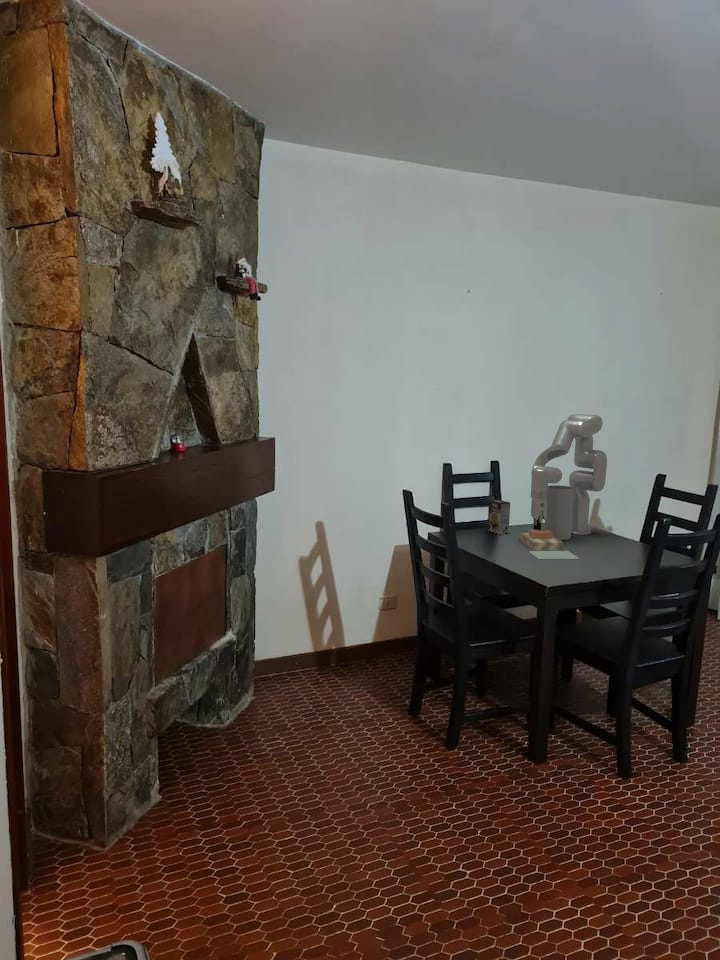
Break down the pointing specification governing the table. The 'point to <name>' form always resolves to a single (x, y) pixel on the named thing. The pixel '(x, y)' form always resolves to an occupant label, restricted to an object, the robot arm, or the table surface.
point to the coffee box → (499, 516)
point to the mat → (553, 555)
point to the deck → (541, 543)
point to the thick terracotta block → (540, 534)
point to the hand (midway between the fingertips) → (537, 533)
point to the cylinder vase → (559, 511)
